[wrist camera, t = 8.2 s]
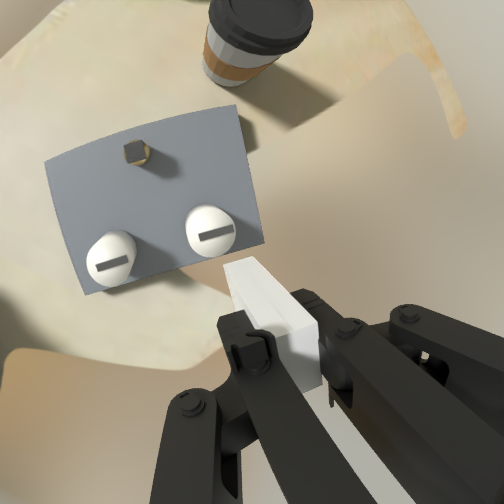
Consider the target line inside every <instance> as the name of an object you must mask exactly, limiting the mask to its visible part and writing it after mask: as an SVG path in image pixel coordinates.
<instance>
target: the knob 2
mask: <svg viewBox="0 0 504 504" xmlns="http://www.w3.org/2000/svg"><path fill="white" fill-rule="evenodd" d="M185 229H186V234H187V238H188V241H189V244H190V246H191V247H192V249H193V250H194V251H195V252H196V253H198V254H199V255H202V256H205V257H217V256H220V255H222V254H224V253H225V252H227V251H228V250H229V249H230V248H231V246H232V245H233V243H234V240H235V237H236V229H235V225H234V222H233V220H232V219H231V218H230V216H228V215H227V214H226V213H225V212H224V211H222V210H221V209H220V208H218V207H217V206H215V205H213V204H207V203H205V204H200V205H197V206H195V207H194V208H192V209H191V210H190V211H189V213H188V215H187V217H186V220H185Z"/></svg>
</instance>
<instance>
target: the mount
mask: <svg viewBox="0 0 504 504" xmlns="http://www.w3.org/2000/svg"><path fill="white" fill-rule="evenodd" d="M132 140H143V142H144V143H145V144H146V145H147V146H148V147H149V148H150V151H151V156H150V159H149V160H148V162H147V163H145V164H144V165H141V166H136V165H132V164H127V161H126V160H125V158H124V154H123V153H124V146H123V145H126V144H128V143H129V142H130V141H132ZM44 163H45V169H46V174H47V178H48V183H49V187H50V191H51V196H52V200H53V203H54V207H55V211H56V215H57V218H58V221H59V225H60V228H61V231H62V235H63V238H64V241H65V244H66V247H67V250H68V253H69V255H70V258H71V261H72V264H73V266H74V269H75V272H76V274H77V277H78V279H79V282H80V284H81V287H82V289H83V291H84V294H85V295H89V294H92V293H95V292H99V291H102V290H106V289H109V288H112V287H108V286H103V285H101V284H99V283H97V282H96V281H95V280H94V279H93V278H92V277H91V275H90V274H89V271H88V269H87V262H86V261H87V255H88V252H89V250H90V249H91V248H92V247H93V245H94V244H95V243H96V242H97V241H99V240H100V239H101V238H102V237H103V236H104V235H105V234H106V233H107V232H109V231H112V230H122V231H124V232H126V233H128V234H129V235H130V236H131V237H132V238H133V239H134V241H135V243H136V247H137V254H136V258H135V260H134V263H133V266H132V268H131V271H130V273H129V276H128V277H127V279H126V280H125V281H124V282H123V283H122V284H126V283H129V282H133V281H136V280H140V279H143V278H146V277H150V276H153V275H157V274H160V273H163V272H167V271H170V270H174V269H177V268H181V267H184V266H187V265H190V264H194V263H198V262H201V261H204V260H208V259H212V258H215V257H205V256H202V255H199V254H198V253H196V252H195V251H194V250H193V249H192V247H191V246H190V244H189V241H188V238H187V234H186V229H185V220H186V217H187V215H188V213H189V211H190V210H191V209H192V208H194V207H195V206H197V205H200V204H205V203H207V204H213V205H215V206H217V207H218V208H220V209H221V210H222V211H224V212H225V213H226V214H227V215H228V216H230V218H231V219H232V220H233V222H234V225H235V229H236V237H235V240H234V243H233V245H232V246H231V248H230V249H229V250H228V251H227V252H225V253H224V254H222V255H226V254H229V253H232V252H236V251H239V250H243V249H246V248H249V247H253V246H257V245H260V244H263V243H264V237H263V233H262V227H261V223H260V217H259V212H258V208H257V203H256V198H255V193H254V188H253V184H252V178H251V173H250V169H249V164H248V159H247V154H246V150H245V145H244V140H243V136H242V131H241V126H240V122H239V117H238V112H237V108H236V104H235V105H229V106H223V107H217V108H212V109H207V110H202V111H197V112H192V113H187V114H183V115H179V116H175V117H170V118H166V119H163V120H159V121H155V122H151V123H148V124H144V125H141V126H137V127H134V128H131V129H128V130H124V131H121V132H118V133H115V134H112V135H109V136H107V137H104V138H101V139H98V140H95V141H93V142H90V143H87V144H85V145H82V146H80V147H77V148H75V149H72V150H70V151H67V152H65V153H63V154H60V155H58V156H56V157H54V158H52V159H49V160H47V161H45V162H44ZM220 256H221V255H220ZM217 257H218V256H217ZM122 284H120V285H122ZM117 286H119V285H117ZM113 287H116V286H113Z"/></svg>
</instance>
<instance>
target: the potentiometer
mask: <svg viewBox="0 0 504 504" xmlns="http://www.w3.org/2000/svg"><path fill="white" fill-rule="evenodd" d="M123 146H124V153H123V154H124V158H125V160H126V161H127V164H132V165H136V166H141V165H144V164H145V163H147V162H148V160H149V159H150V156H151V151H150V148H149V147H148V146H147V145H146V144H145V143H144V142H143V140H132V141H130V142H129V143H128V144H126V145H123Z"/></svg>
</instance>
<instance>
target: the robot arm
mask: <svg viewBox="0 0 504 504" xmlns="http://www.w3.org/2000/svg"><path fill="white" fill-rule="evenodd" d="M223 266H224V270H225V274H226V278H227V282H228V286H229V289H230V293H231V297H232V301H233V304H234V308H235V312H234V313H230V314H227V315H224V316H221V317H219V320H218V322H217V328H218V331H219V334H220V337H221V340H222V343H223V346H224V349H225V352H226V355H227V358H228V360H229V363H230V366H231V373H230V376H229V377H228V379H227V380H226V381H225V383H224V384H222V385H221V386H220V387H218V388H216V389H215V390H213V391H211V392H210V391H208V390H205V389H202V388H194V389H189V390H185V391H183V392H181V393H179V394H178V395H176V396H175V397H174V398H173V399H172V400H171V403H170V405H169V407H168V410H167V415H166V420H165V424H164V429H163V433H162V438H161V443H160V448H159V454H158V458H157V464H156V469H155V474H154V479H153V485H152V491H151V497H150V503H149V504H243V498H242V472H241V450H242V449H243V448H245V447H247V446H248V445H250V444H251V443H253V442H254V441H256V440H257V439H259V441H260V443H261V446H262V448H263V450H264V453H265V455H266V457H267V459H268V462H269V464H270V466H271V468H272V471H273V473H274V475H275V477H276V479H277V482H278V484H279V486H280V488H281V490H282V492H283V494H284V496H285V498H286V500H287V503H288V504H377V502H376V501H375V500H374V498H373V497H372V495H371V494H370V493H369V491H368V490H367V489H366V487H365V486H364V485H363V483H362V482H361V480H360V479H359V477H358V476H357V475H356V473H355V472H354V470H353V469H352V467H351V466H350V465H349V463H348V462H347V460H346V459H345V457H344V456H343V454H342V453H341V452H340V450H339V449H338V447H337V446H336V444H335V443H334V441H333V440H332V438H331V437H330V435H329V434H328V433H327V431H326V430H325V428H324V427H323V425H322V424H321V422H320V421H319V419H318V418H317V416H316V415H315V413H314V412H313V410H312V408H311V407H310V405H309V404H308V402H307V401H306V399H305V398H304V396H303V395H302V393H304V392H307V391H309V390H312V389H314V388H316V387H318V386H320V385H322V375H323V376H324V377H325V378H326V380H327V381H328V384H329V385H328V386H329V404H330V407H331V408H332V407H333V406H334V400H335V401H336V402H337V404H338V405H339V406H340V408H341V409H342V410H343V412H344V413H345V414H346V415H347V417H348V418H349V419H350V421H351V422H352V423H353V425H354V426H355V427H356V428H357V430H358V431H359V432H360V434H361V435H362V436H363V438H364V439H365V440H366V441H367V443H368V444H369V445H370V447H371V448H372V449H373V450H374V452H375V453H376V454H377V455H378V457H379V458H380V459H381V461H382V462H383V463H384V464H385V465H386V467H387V468H388V469H389V471H390V472H391V473H392V474H393V476H394V477H395V478H396V479H397V481H398V482H399V483H400V484H401V486H402V487H403V488H404V489H405V490H406V492H407V493H408V494H409V495H410V497H411V498H412V499H413V500H414V501H415V503H416V504H504V338H502V337H500V336H498V335H495V334H492V333H490V332H487V331H485V330H482V329H479V328H477V327H474V326H471V325H469V324H466V323H464V322H461V321H458V320H456V319H453V318H450V317H448V316H445V315H442V314H440V313H437V312H434V311H432V310H429V309H426V308H424V307H421V306H418V305H413V304H405V305H400V306H398V307H396V308H394V309H393V310H392V311H391V313H390V321H388V322H384V323H380V324H375V325H368V324H366V323H365V322H363V321H361V320H360V319H355V318H343V317H342V316H341V315H340V314H339V313H338V312H336V311H335V310H334V309H333V308H332V307H331V306H329V305H328V304H327V303H325V302H324V300H322V299H320V297H319V296H317V294H315V293H314V292H312V291H309V290H306V289H300V290H297V291H294V292H291V293H288V291H287V290H286V289H284V287H283V286H281V284H280V283H279V282H278V281H277V280H276V279H275V278H274V277H272V275H271V274H270V273H269V272H268V271H267V270H266V269H265V268H264V267H263V266H262V265H261V264H260V263H259V262H258V261H257V260H256V259H255V258H254V257H253V256H251V257H247V258H244V259H240V260H237V261H234V262H230V263H227V264H223ZM422 351H424V352H426V353H428V354H429V358H428V359H426V360H425V359H422V358H421V356H422Z"/></svg>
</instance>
